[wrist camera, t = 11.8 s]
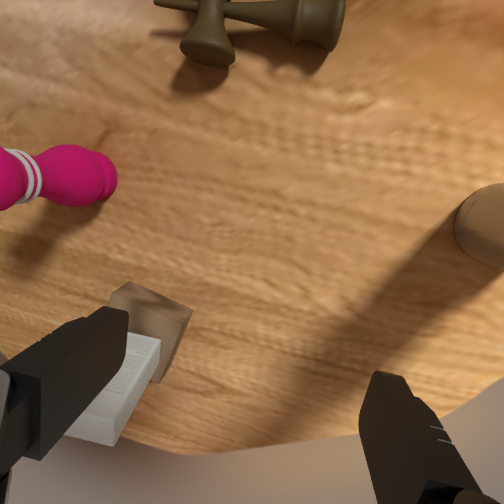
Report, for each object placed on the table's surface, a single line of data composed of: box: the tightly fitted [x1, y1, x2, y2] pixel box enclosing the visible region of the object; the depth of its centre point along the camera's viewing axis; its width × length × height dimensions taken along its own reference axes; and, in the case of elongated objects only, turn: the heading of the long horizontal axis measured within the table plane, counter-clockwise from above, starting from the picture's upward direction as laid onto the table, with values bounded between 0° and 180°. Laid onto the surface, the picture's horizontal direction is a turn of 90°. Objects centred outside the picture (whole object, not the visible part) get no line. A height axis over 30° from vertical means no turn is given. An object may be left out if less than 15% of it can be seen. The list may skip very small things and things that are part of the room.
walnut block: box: [108, 281, 193, 384], centre depth 44 cm, size 10×10×5 cm
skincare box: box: [63, 332, 161, 447], centre depth 36 cm, size 6×4×12 cm
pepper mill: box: [0, 145, 117, 211], centre depth 32 cm, size 7×7×20 cm
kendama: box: [154, 0, 346, 66], centre depth 33 cm, size 6×10×20 cm
